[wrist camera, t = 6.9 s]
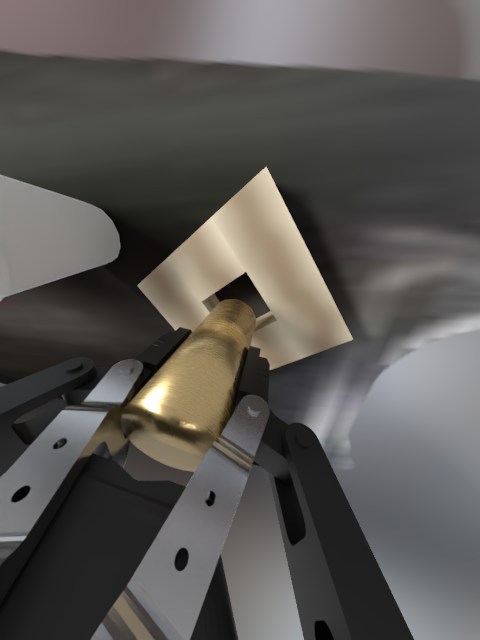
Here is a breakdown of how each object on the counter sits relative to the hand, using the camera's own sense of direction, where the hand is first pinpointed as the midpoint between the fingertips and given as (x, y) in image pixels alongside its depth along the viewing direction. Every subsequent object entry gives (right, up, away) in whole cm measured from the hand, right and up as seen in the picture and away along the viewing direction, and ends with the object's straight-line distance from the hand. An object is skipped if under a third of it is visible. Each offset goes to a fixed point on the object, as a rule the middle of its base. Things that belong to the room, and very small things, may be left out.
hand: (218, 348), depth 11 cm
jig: (+2, +4, +9) cm, 10 cm away
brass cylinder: (+1, +2, +4) cm, 4 cm away
